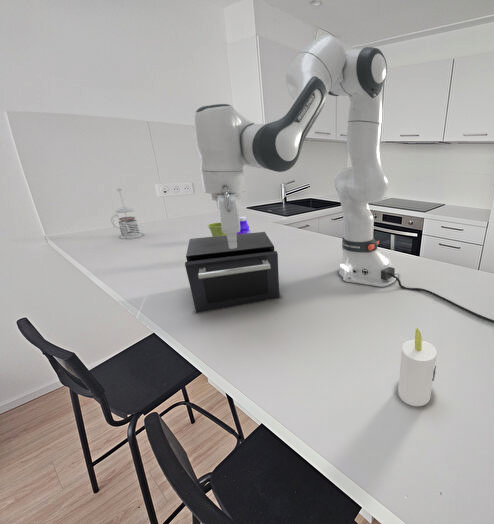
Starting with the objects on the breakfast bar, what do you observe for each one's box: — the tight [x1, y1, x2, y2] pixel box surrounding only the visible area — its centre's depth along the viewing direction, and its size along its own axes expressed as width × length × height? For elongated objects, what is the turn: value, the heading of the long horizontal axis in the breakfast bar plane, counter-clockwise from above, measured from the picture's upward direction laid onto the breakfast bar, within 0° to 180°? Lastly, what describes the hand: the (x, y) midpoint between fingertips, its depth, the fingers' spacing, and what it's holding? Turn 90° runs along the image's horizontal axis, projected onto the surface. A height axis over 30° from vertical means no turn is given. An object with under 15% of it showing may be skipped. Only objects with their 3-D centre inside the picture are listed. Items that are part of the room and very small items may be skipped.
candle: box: [397, 327, 438, 407], centre depth 56 cm, size 6×6×15 cm
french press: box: [110, 187, 143, 240], centre depth 153 cm, size 10×12×25 cm
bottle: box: [237, 215, 252, 234], centre depth 129 cm, size 7×6×17 cm
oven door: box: [184, 250, 280, 314], centre depth 85 cm, size 5×24×17 cm, turn 114°
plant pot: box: [207, 222, 226, 237], centre depth 150 cm, size 9×9×9 cm
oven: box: [185, 231, 275, 262], centre depth 97 cm, size 18×24×17 cm
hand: (231, 242), depth 72 cm, fingers open, 8 cm apart
